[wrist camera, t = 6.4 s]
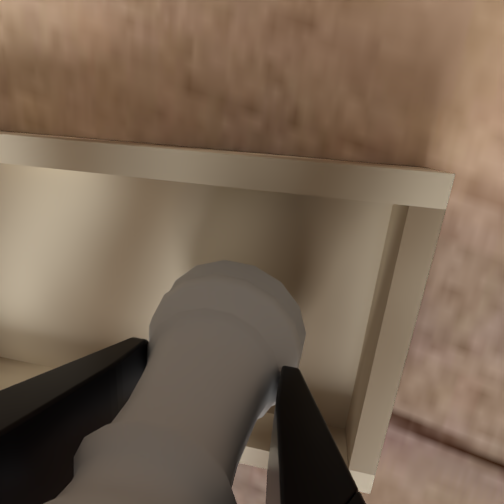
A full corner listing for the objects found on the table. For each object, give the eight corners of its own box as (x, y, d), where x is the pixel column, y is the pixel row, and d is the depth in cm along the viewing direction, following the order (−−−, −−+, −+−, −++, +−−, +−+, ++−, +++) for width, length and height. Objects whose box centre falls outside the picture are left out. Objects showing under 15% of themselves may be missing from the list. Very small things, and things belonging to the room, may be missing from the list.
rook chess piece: (187, 232, 10) (-225, 504, 2) (330, 288, 10) (363, 803, 2) (155, 349, 11) (-157, 737, 4) (277, 401, 11) (186, 929, 4)
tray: (425, 167, 9) (455, 173, 7) (361, 437, 13) (370, 493, 11) (-93, 122, 12) (-176, 118, 10) (-37, 352, 15) (-92, 384, 13)
